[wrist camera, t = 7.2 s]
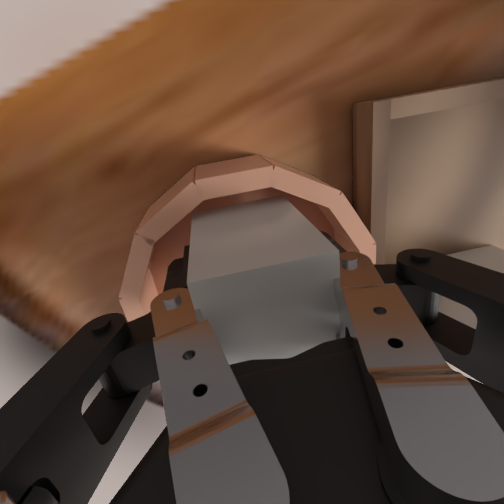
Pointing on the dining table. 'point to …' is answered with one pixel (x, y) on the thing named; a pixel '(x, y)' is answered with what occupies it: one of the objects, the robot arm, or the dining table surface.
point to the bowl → (224, 194)
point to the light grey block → (263, 279)
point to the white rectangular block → (479, 256)
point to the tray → (431, 169)
